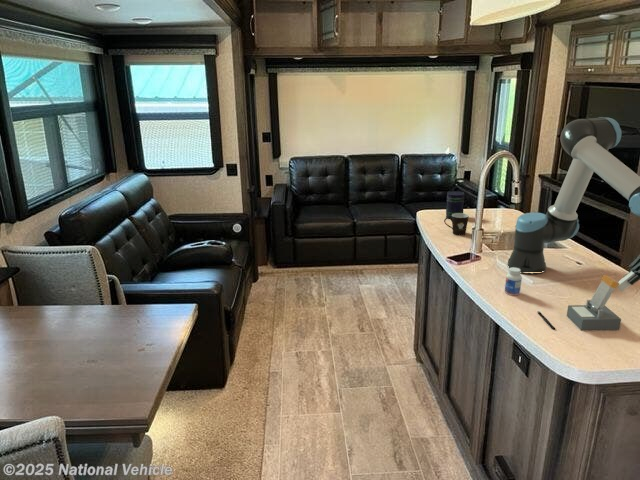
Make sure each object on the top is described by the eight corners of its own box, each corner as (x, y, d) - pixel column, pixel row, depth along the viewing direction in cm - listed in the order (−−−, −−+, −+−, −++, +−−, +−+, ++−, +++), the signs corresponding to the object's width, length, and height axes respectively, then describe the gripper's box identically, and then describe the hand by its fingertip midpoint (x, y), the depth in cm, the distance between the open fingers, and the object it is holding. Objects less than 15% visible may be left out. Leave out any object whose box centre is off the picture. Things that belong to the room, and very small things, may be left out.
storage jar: (446, 219, 274) (447, 194, 269) (444, 215, 283) (446, 191, 278) (464, 220, 272) (465, 195, 267) (461, 215, 281) (463, 191, 276)
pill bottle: (501, 291, 180) (503, 268, 177) (512, 288, 182) (514, 265, 179) (512, 297, 175) (514, 273, 172) (523, 294, 177) (525, 270, 174)
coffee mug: (469, 232, 250) (470, 214, 247) (464, 236, 243) (466, 218, 240) (448, 229, 256) (449, 211, 253) (442, 233, 249) (443, 215, 246)
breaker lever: (591, 307, 157) (609, 276, 153) (600, 315, 151) (619, 283, 147) (586, 305, 156) (604, 274, 153) (594, 313, 151) (613, 281, 147)
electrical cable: (536, 313, 164) (536, 310, 163) (539, 313, 164) (539, 310, 163) (552, 330, 152) (552, 327, 152) (555, 330, 152) (555, 327, 152)
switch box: (602, 315, 160) (605, 298, 158) (619, 330, 150) (622, 312, 148) (566, 315, 160) (569, 298, 158) (580, 330, 151) (583, 312, 149)
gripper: (705, 253, 139) (637, 304, 145) (675, 239, 152) (613, 287, 158) (690, 236, 138) (623, 289, 144) (661, 223, 150) (600, 273, 156)
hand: (618, 288), depth 151 cm, fingers closed
